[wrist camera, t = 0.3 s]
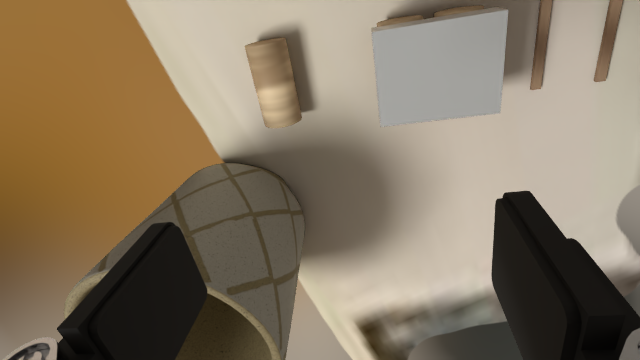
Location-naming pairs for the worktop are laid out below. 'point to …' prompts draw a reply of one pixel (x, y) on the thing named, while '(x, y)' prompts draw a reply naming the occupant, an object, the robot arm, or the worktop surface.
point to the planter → (230, 260)
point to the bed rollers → (544, 36)
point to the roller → (274, 82)
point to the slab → (440, 67)
